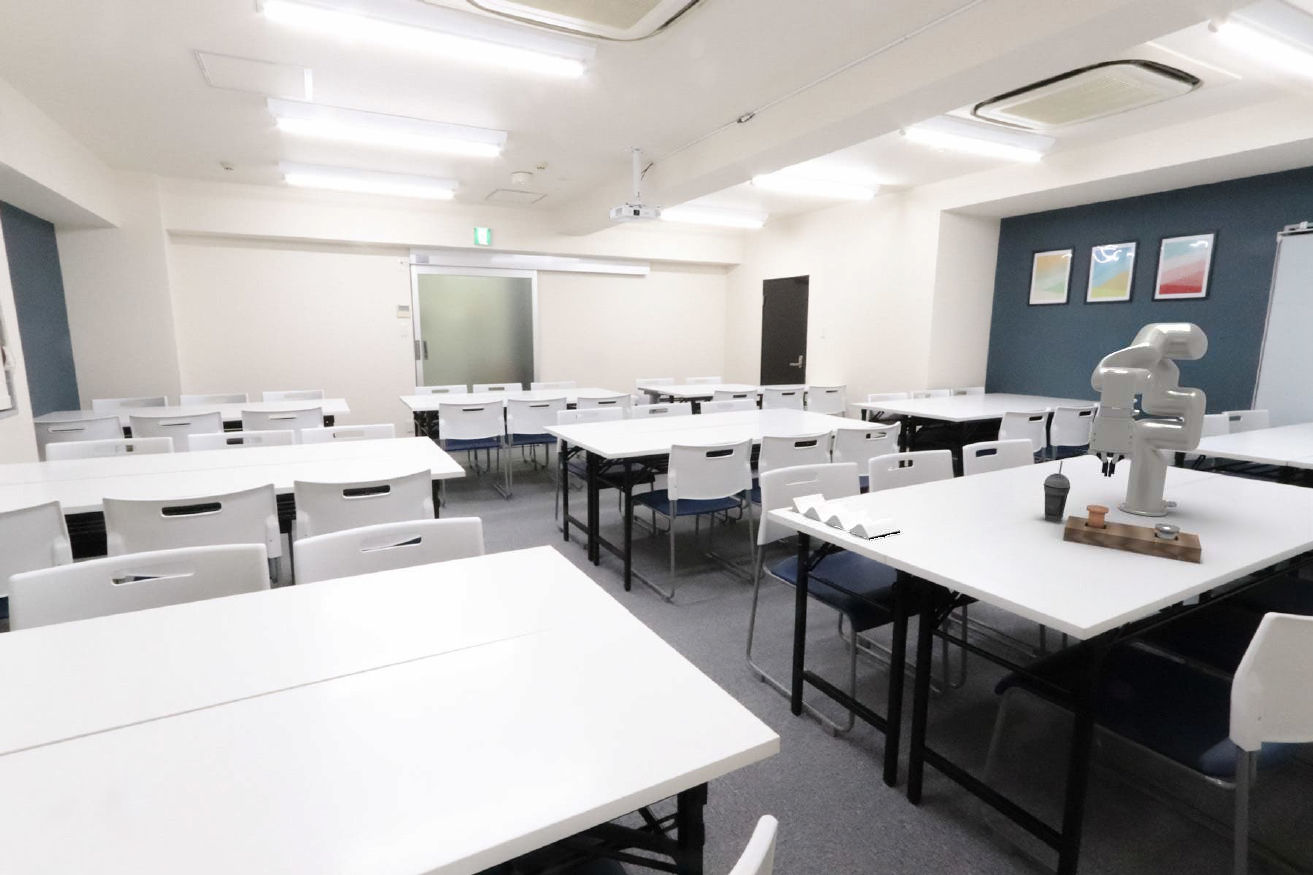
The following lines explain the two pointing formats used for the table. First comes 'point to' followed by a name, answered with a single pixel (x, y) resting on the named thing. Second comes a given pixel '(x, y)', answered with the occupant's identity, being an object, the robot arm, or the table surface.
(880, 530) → the file organizer
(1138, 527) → the button board
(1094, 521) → the terracotta plunger
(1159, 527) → the grey plunger
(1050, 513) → the beverage cup
